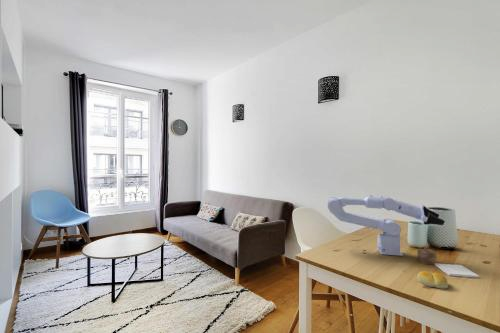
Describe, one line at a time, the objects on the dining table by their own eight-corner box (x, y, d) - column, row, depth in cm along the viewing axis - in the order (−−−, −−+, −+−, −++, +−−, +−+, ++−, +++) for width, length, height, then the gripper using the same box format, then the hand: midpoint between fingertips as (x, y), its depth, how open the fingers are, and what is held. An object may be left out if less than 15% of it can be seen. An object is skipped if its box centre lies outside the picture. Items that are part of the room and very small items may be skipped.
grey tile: (449, 275, 95) (449, 273, 95) (434, 265, 104) (434, 263, 104) (478, 277, 93) (478, 275, 93) (461, 267, 102) (461, 265, 102)
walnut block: (423, 263, 106) (423, 252, 106) (417, 259, 111) (417, 248, 111) (436, 264, 105) (436, 253, 105) (429, 260, 110) (429, 249, 110)
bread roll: (416, 276, 94) (416, 266, 94) (446, 282, 89) (446, 271, 89) (417, 285, 87) (417, 273, 87) (449, 292, 83) (449, 280, 83)
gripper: (414, 207, 109) (450, 218, 105) (408, 197, 122) (439, 206, 118) (408, 221, 111) (443, 232, 107) (403, 210, 124) (433, 219, 120)
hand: (440, 219), depth 113 cm, fingers open, 7 cm apart
